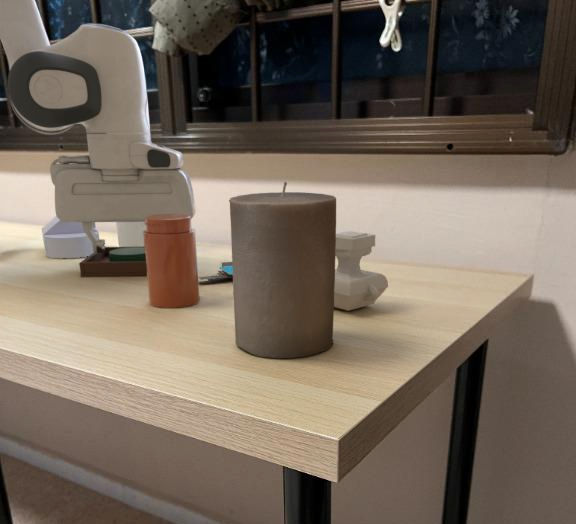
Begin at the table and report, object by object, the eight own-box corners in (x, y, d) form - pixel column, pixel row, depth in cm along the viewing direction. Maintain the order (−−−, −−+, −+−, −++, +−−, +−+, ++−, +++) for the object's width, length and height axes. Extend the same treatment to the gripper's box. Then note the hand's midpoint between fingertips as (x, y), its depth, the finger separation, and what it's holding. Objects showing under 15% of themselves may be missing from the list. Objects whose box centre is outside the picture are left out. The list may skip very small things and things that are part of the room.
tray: (80, 276, 88) (78, 263, 87) (102, 259, 100) (101, 246, 99) (166, 275, 88) (165, 261, 87) (177, 258, 100) (176, 246, 99)
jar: (148, 309, 71) (139, 220, 67) (150, 296, 77) (143, 214, 73) (199, 306, 72) (194, 219, 68) (198, 294, 78) (193, 212, 74)
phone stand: (214, 294, 78) (213, 281, 77) (189, 275, 88) (188, 264, 87) (351, 279, 85) (352, 267, 84) (314, 264, 95) (314, 253, 94)
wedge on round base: (44, 247, 110) (46, 260, 99) (38, 209, 108) (39, 217, 97) (96, 244, 113) (103, 256, 102) (91, 206, 111) (98, 214, 100)
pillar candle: (340, 331, 63) (344, 178, 57) (324, 363, 54) (327, 187, 48) (250, 325, 65) (245, 177, 59) (220, 355, 56) (211, 185, 50)
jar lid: (142, 268, 90) (141, 255, 90) (102, 266, 92) (100, 254, 91) (160, 260, 96) (159, 247, 95) (122, 258, 97) (121, 246, 97)
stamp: (300, 304, 73) (301, 232, 70) (338, 294, 77) (340, 226, 74) (357, 319, 67) (360, 242, 63) (395, 308, 71) (400, 235, 68)
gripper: (40, 156, 84) (55, 256, 90) (188, 155, 85) (195, 254, 90) (54, 155, 90) (68, 249, 95) (193, 153, 91) (199, 247, 96)
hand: (131, 251), depth 93 cm, fingers open, 8 cm apart
